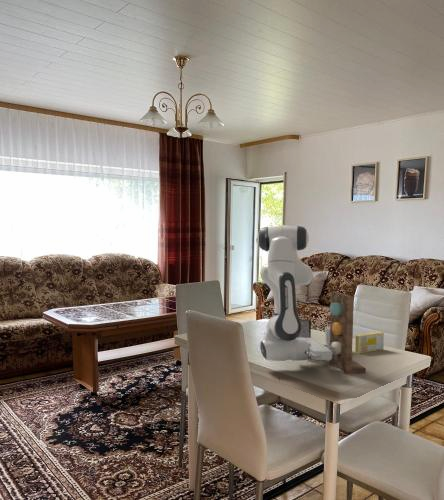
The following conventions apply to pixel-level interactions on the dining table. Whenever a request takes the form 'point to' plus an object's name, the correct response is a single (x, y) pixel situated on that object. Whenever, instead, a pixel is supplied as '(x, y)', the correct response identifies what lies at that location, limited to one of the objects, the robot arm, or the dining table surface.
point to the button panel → (344, 335)
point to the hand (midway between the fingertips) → (333, 348)
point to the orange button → (337, 328)
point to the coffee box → (305, 328)
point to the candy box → (369, 342)
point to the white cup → (327, 335)
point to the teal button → (336, 308)
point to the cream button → (336, 347)
